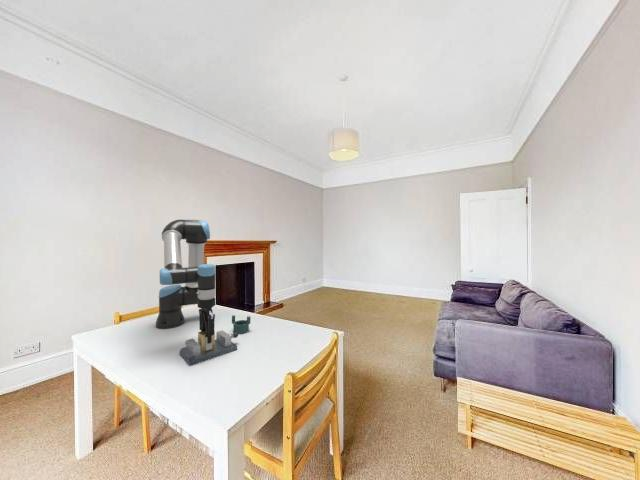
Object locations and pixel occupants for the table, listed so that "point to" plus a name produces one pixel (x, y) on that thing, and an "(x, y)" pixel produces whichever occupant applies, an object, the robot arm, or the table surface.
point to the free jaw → (225, 338)
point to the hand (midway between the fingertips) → (206, 347)
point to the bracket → (240, 325)
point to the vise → (195, 355)
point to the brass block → (202, 340)
